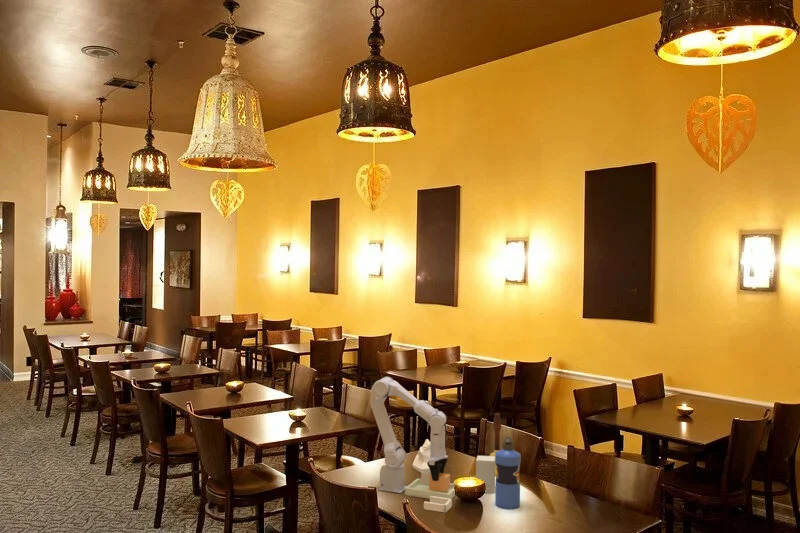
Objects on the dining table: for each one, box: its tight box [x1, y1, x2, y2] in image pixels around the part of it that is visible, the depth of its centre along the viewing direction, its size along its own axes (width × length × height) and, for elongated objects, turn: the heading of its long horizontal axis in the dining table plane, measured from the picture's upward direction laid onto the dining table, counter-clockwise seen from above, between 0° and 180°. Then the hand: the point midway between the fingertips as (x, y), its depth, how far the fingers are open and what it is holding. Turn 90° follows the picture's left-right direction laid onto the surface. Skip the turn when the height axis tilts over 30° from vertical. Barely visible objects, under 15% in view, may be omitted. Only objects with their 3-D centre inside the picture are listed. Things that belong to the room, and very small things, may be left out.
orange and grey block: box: [420, 472, 451, 492], centre depth 257 cm, size 11×4×6 cm, turn 67°
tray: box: [404, 477, 456, 500], centre depth 257 cm, size 18×13×3 cm
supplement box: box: [475, 455, 496, 494], centre depth 261 cm, size 7×7×13 cm
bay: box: [423, 496, 453, 514], centre depth 241 cm, size 8×8×2 cm
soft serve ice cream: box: [411, 438, 431, 473], centre depth 287 cm, size 12×15×14 cm
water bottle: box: [494, 436, 522, 510], centre depth 244 cm, size 9×9×25 cm
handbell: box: [489, 412, 502, 476], centre depth 286 cm, size 12×12×25 cm
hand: (437, 478), depth 256 cm, fingers closed on orange and grey block, 4 cm apart
